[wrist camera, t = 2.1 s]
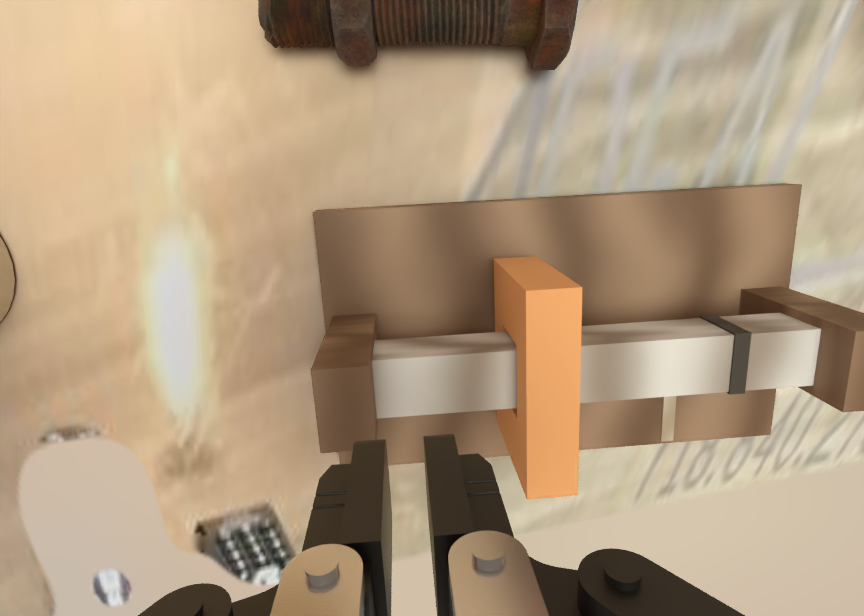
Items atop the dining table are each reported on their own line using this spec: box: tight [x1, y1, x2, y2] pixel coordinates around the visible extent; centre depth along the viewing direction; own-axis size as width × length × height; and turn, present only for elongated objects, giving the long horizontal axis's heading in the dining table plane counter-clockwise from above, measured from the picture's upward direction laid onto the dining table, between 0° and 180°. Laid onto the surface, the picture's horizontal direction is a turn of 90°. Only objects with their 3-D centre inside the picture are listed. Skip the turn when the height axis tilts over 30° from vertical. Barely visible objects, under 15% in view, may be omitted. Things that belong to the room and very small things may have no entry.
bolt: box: [259, 0, 578, 70], centre depth 27 cm, size 6×5×15 cm
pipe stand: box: [311, 184, 864, 465], centre depth 29 cm, size 28×16×10 cm, turn 93°
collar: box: [494, 256, 582, 499], centre depth 28 cm, size 2×10×8 cm, turn 3°
